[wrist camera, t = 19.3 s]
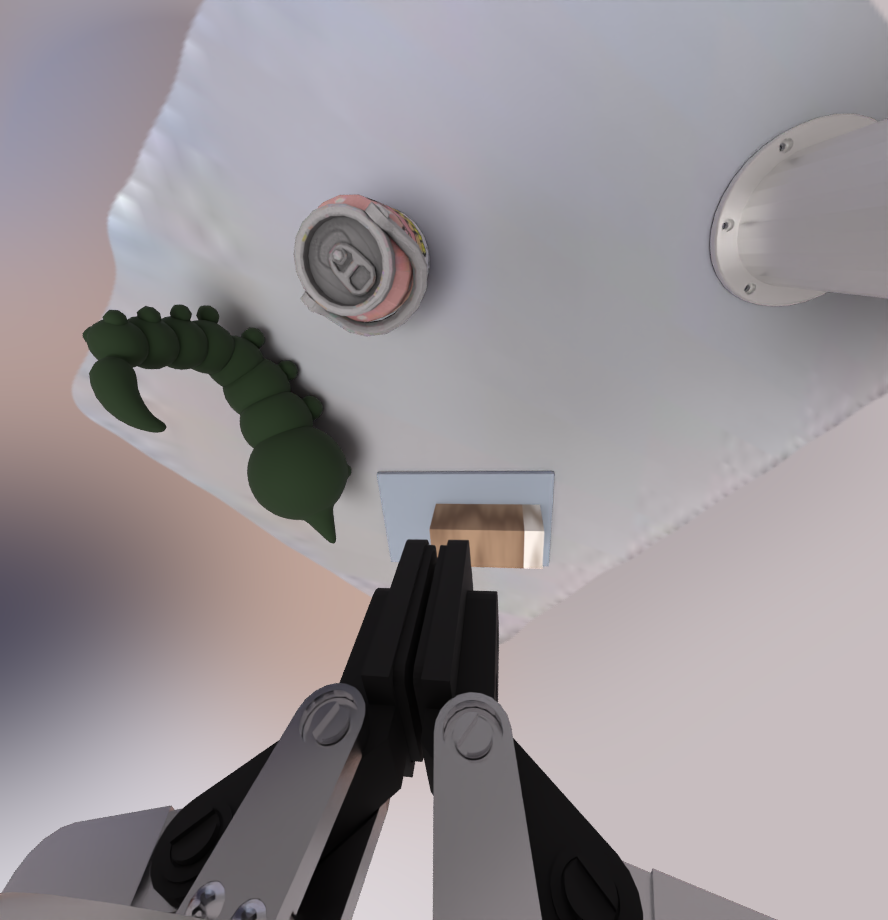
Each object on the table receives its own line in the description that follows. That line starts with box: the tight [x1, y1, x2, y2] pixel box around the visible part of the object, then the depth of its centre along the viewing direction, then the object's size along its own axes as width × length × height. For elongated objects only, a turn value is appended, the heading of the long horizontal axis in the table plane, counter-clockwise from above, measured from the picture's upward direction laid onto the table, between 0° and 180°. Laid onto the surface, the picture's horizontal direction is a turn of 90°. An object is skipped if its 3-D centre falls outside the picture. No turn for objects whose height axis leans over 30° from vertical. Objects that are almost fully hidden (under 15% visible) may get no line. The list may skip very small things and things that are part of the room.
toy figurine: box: [83, 305, 351, 543], centre depth 37 cm, size 9×19×25 cm
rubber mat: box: [377, 471, 554, 566], centre depth 48 cm, size 20×13×1 cm, turn 94°
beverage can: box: [294, 195, 430, 336], centre depth 31 cm, size 9×8×12 cm
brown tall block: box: [429, 504, 544, 569], centre depth 45 cm, size 5×5×12 cm
